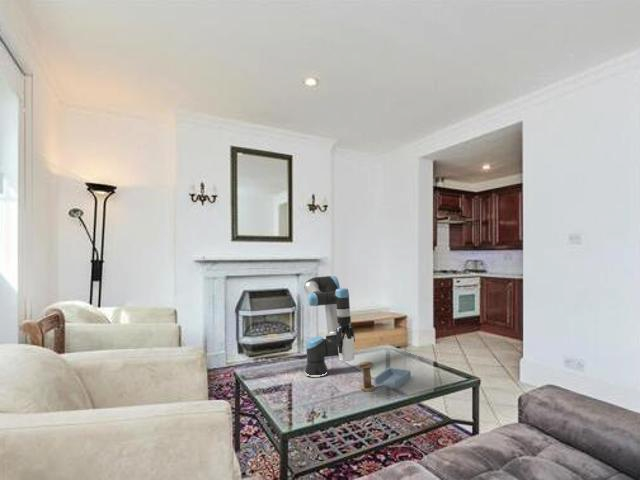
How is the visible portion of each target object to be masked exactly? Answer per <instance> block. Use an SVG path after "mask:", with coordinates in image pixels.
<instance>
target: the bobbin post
mask: <svg viewBox="0 0 640 480" xmlns="http://www.w3.org/2000/svg"><path fill="white" fill-rule="evenodd" d="M358 365H359V367H360V368H362V379H363V384H362V385H361V386H360V390H361V391H362V392H373V391H375V390H376V385H375V384H374V385H373V384H372V374H371V371H372V370H371V368H373V367H374V363H373V362H370V361H361V362H360V363H359V364H358Z"/></svg>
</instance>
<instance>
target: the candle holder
mask: <svg viewBox="0 0 640 480" xmlns="http://www.w3.org/2000/svg"><path fill="white" fill-rule="evenodd" d="M354 337H355V336H354ZM354 337H353V336H351V339H348V338H347V335H344V340H343V346H342V347H343V348H344V359H339V361H340V362H351V361H354V360H355V342H354ZM338 352H339V348H338Z"/></svg>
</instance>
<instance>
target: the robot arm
mask: <svg viewBox="0 0 640 480" xmlns="http://www.w3.org/2000/svg"><path fill="white" fill-rule="evenodd" d="M340 286H341V285H340V282H339V279H338V277H337V276H335V275H326V276H315V277H311V278H310V279H308V280H307V281H306V282H305V284H304V287H303V288H304V291H305V293H306V294H307V295H308V296H307V298H308V299H307V300H308V301H307V302H308V305H309V306H310V307H317V306H318V307H319V306H324V309H325V320H326V330H327V331H326V332H327V334H326V335H325V338H324V337H323V336H314V337H310V338H309V339H307V340H306V345H305V350H306V366H305V371H304V373H305V372H306V373H307V374H309V375H322V374H325V373H326V372H328V373H329V370H328V368H327V367H328V366H327V365H326V362H325V358H328V357H338V359H339V360H340V359H344V348H343V347H342V346H343V340H344V336H347V338H348V339H351V336H353V337H354V343H356V342H355V341H356V338H355V333H354V332H355V331H354V325H353V324H352V320H351V316H350V315H351V309H350V308H351V306H350V292H349V289H348V288H342V287H340ZM338 348H339V352H338Z"/></svg>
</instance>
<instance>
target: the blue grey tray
mask: <svg viewBox="0 0 640 480" xmlns="http://www.w3.org/2000/svg"><path fill="white" fill-rule="evenodd" d="M411 373H412V372H411V370H409V369H401V368H395V367H387V368H386V369H384V370H383V371H381V372H380V373H379V374H377V375H376V376H374V378H373V379H374V386H378V387H384V388H389V389H395V390H398V389H399V388H401V386H403V385H404V384H405V383H407V381H408V380H410V379H411V378H412V375H411Z"/></svg>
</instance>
